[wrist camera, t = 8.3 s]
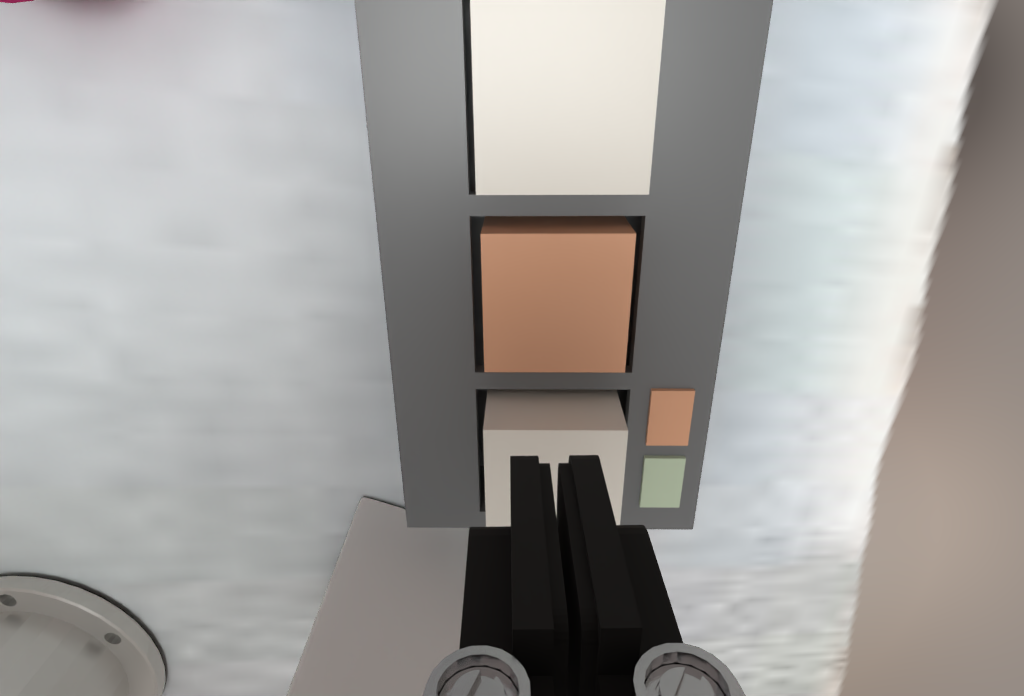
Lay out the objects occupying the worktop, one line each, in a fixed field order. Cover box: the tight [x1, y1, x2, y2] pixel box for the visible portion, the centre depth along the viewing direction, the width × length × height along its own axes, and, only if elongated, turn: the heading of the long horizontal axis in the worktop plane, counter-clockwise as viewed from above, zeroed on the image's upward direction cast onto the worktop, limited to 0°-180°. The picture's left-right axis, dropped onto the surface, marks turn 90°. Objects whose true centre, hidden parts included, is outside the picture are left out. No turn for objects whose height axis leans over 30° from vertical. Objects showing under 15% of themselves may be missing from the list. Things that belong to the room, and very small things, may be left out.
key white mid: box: [470, 0, 666, 195], centre depth 18 cm, size 5×5×4 cm
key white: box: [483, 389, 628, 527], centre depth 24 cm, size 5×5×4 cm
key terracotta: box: [481, 216, 636, 373], centre depth 22 cm, size 5×5×4 cm
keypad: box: [355, 0, 773, 529], centre depth 22 cm, size 27×12×4 cm, turn 0°
